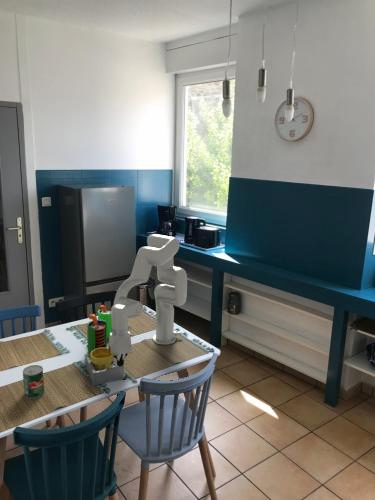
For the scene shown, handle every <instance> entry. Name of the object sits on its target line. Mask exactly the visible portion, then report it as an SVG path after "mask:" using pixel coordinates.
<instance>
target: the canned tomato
mask: <svg viewBox="0 0 375 500" xmlns="http://www.w3.org/2000/svg"><path fill="white" fill-rule="evenodd" d="M22 379H23V391H24V394H23V395H24V397H25V398H27V399H29V400H31V399H32V400H33V399H35V400H36V399H38V398H40V397H42V396H44V394H45V381H44V379H45V378H44V368H43V366H42V365H38V364H33V365H29V366H26V367H25V368H23V370H22Z"/></svg>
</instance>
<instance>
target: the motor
mask: <svg viewBox="0 0 375 500" xmlns="http://www.w3.org/2000/svg"><path fill="white" fill-rule="evenodd" d="M88 317H89V318H88V320H90V321H88V322H87V324H86V325H87V326H86V329H87V331H86V334H87V337H86V338H87V354H91V352H92V351H93V350H94V349H97V348H102V347H105V348H108V345H107V344H108V340H107V339H108V338H107V321H105V320H98V316H97V315H96V314H95V313H91V314H89V315H88Z"/></svg>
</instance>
